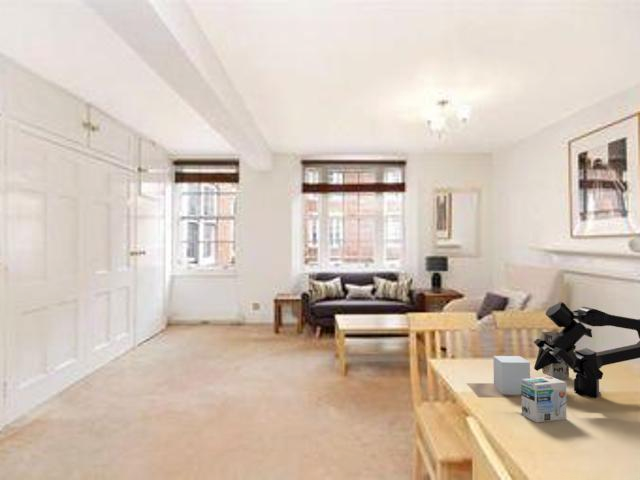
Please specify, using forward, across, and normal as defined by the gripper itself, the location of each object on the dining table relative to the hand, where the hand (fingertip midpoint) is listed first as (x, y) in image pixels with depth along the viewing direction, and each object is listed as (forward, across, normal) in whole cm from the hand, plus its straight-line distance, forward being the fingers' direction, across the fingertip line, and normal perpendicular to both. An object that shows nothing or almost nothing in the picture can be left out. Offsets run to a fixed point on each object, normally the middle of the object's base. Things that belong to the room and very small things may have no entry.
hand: (535, 369), depth 156 cm
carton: (+11, 0, +1) cm, 11 cm away
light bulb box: (+10, -21, -2) cm, 23 cm away
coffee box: (-6, +23, -18) cm, 29 cm away
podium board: (+14, 0, +2) cm, 14 cm away
